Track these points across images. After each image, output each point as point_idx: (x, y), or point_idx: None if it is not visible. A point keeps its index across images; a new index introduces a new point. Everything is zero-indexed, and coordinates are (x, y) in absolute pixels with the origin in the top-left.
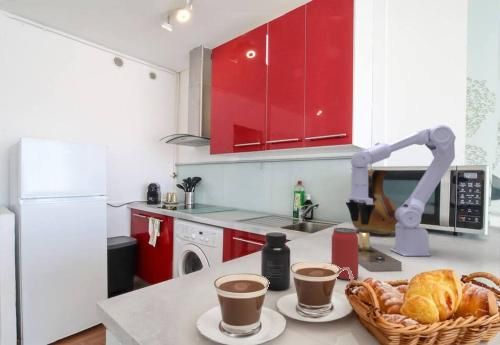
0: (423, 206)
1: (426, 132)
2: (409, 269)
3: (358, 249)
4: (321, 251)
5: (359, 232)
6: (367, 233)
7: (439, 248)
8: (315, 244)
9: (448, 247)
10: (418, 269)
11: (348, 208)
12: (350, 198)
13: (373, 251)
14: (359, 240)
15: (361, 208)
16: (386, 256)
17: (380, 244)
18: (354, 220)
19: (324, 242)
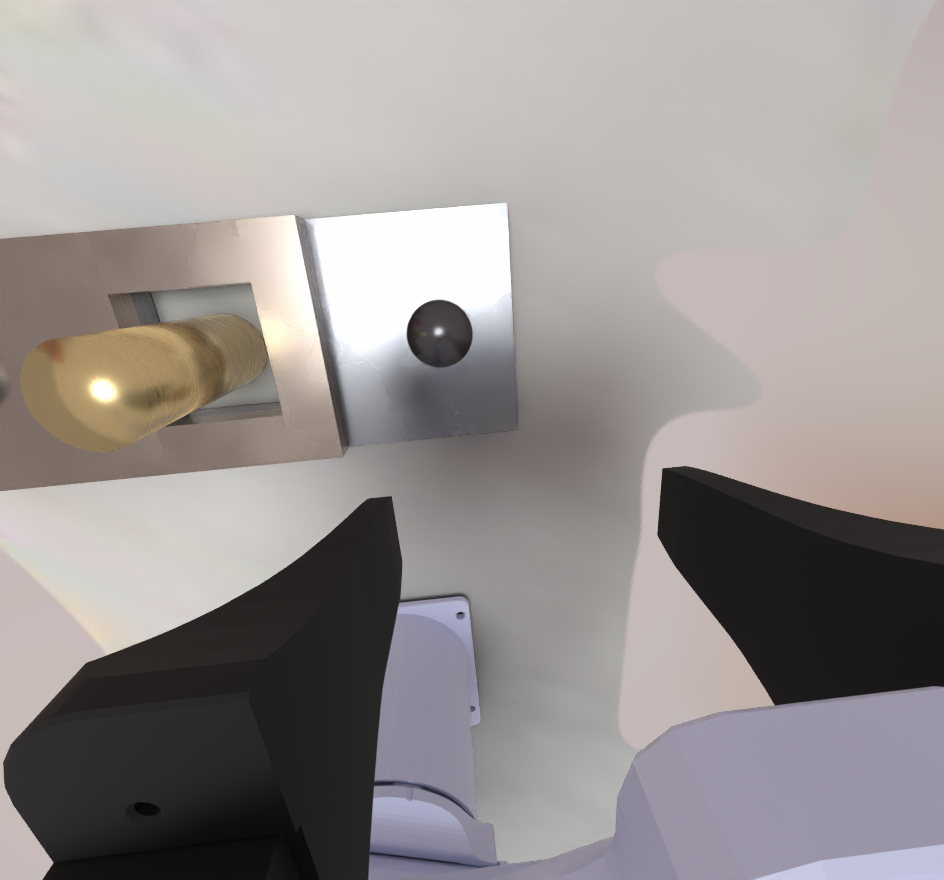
0: None
1: None
2: (43, 527)
3: (265, 333)
4: (382, 2)
5: (94, 345)
6: (62, 422)
7: (511, 819)
8: (657, 21)
9: (530, 856)
10: (62, 572)
11: (898, 524)
12: (671, 795)
13: (192, 423)
14: (139, 327)
15: (139, 652)
16: (56, 459)
17: (610, 595)
18: (665, 498)
19: (723, 163)
